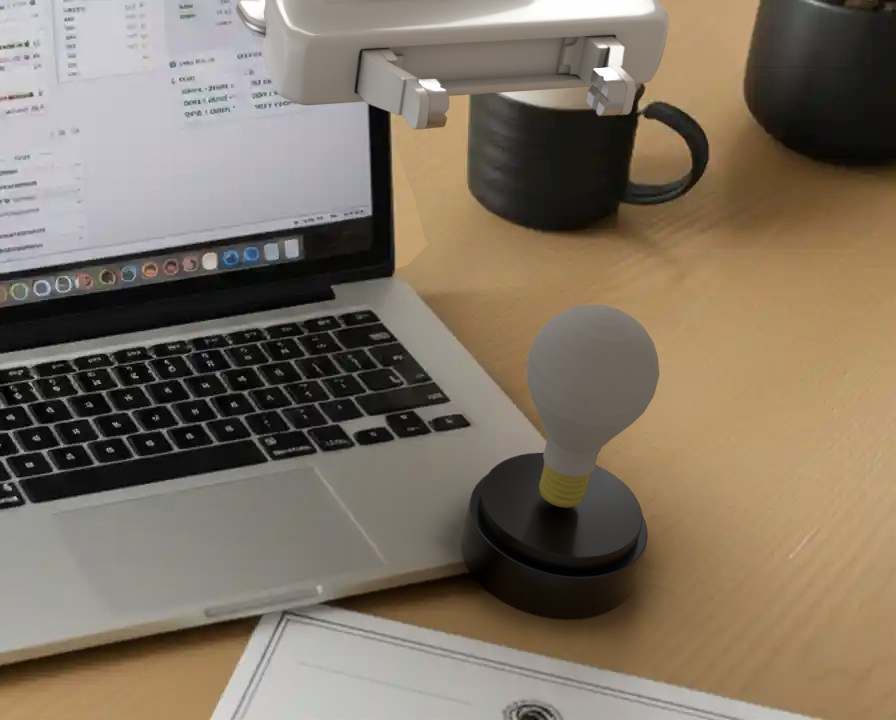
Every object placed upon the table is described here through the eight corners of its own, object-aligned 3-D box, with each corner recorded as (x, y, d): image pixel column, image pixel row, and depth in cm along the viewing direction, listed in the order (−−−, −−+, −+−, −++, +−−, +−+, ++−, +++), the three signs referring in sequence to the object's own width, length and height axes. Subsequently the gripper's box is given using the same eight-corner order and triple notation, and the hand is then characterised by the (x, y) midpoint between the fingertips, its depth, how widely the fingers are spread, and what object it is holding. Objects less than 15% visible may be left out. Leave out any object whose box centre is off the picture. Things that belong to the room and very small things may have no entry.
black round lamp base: (587, 491, 80) (601, 438, 78) (667, 605, 74) (684, 550, 72) (434, 512, 78) (445, 457, 76) (504, 631, 72) (518, 575, 70)
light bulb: (606, 465, 77) (656, 283, 71) (631, 545, 72) (686, 357, 66) (489, 459, 76) (530, 276, 70) (507, 538, 72) (553, 349, 66)
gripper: (230, -65, 82) (321, 57, 71) (601, -78, 88) (736, 33, 77) (221, 53, 85) (306, 185, 75) (578, 33, 91) (704, 153, 81)
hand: (528, 108), depth 76 cm, fingers open, 8 cm apart
